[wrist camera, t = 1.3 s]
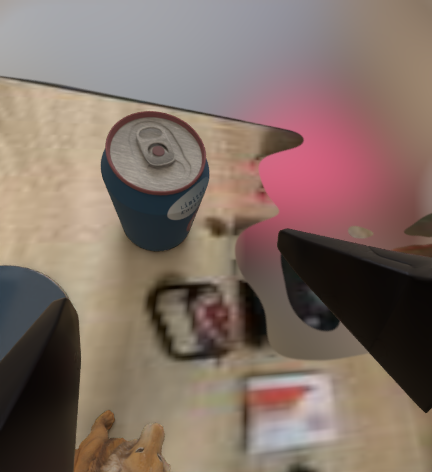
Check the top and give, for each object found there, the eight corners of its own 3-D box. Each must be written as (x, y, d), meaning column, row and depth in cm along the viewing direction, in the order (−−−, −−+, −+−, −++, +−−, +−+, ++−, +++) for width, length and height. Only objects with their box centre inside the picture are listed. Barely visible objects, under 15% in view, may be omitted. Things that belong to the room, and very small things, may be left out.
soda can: (199, 240, 24) (233, 184, 13) (137, 264, 22) (116, 218, 11) (175, 188, 26) (189, 96, 15) (114, 204, 23) (76, 110, 12)
